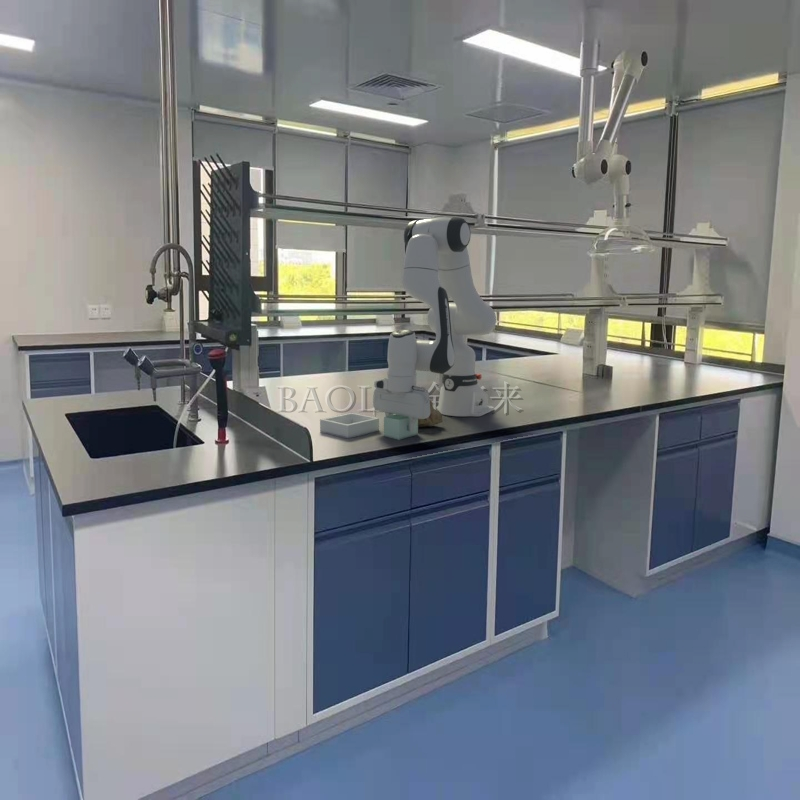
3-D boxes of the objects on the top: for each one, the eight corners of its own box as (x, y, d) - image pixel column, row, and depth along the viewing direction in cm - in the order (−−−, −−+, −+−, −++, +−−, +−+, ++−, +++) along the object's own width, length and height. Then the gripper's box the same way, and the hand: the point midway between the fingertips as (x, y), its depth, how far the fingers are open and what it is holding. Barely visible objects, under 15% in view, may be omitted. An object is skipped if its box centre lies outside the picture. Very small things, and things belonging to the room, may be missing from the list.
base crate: (351, 424, 217) (351, 412, 216) (379, 430, 209) (379, 418, 208) (320, 432, 206) (320, 419, 206) (347, 438, 199) (347, 425, 198)
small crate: (402, 431, 209) (403, 412, 208) (417, 434, 205) (418, 415, 204) (383, 436, 202) (384, 417, 201) (398, 439, 198) (399, 420, 197)
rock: (409, 412, 208) (431, 393, 211) (388, 409, 218) (409, 390, 222) (425, 439, 212) (446, 420, 216) (404, 434, 222) (424, 416, 226)
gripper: (435, 387, 196) (434, 432, 199) (383, 379, 209) (383, 422, 212) (422, 389, 192) (421, 436, 194) (370, 381, 205) (369, 425, 207)
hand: (400, 428), depth 203 cm, fingers closed on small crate, 6 cm apart
